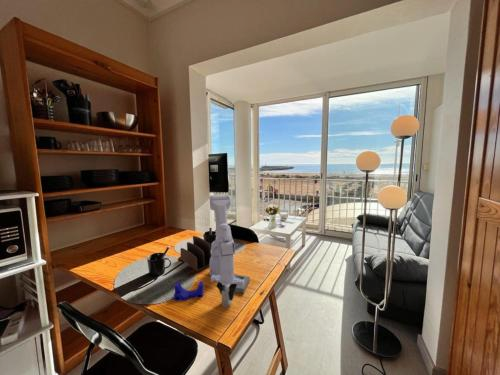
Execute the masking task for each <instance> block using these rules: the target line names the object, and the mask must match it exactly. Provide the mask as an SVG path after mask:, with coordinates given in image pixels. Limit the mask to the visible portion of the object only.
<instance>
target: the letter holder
mask: <svg viewBox="0 0 500 375" xmlns="http://www.w3.org/2000/svg"><path fill="white" fill-rule="evenodd" d="M179 250H180V260H181V261H182V262H184V263H185V264H186V265H187V266H189V267H190V268H191V269H193V270H194V271H196V272H199V271H202V270H203V269H206V268H210V265H209V262H210V258H211V257H212V254H211V243H209V242H208V241H206V240H205V239H203V238H201V237H199V236H197V235H192V242H191V241H190V242H189V241H188V242H186V249H185V248H183V247H180V249H179Z"/></svg>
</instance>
